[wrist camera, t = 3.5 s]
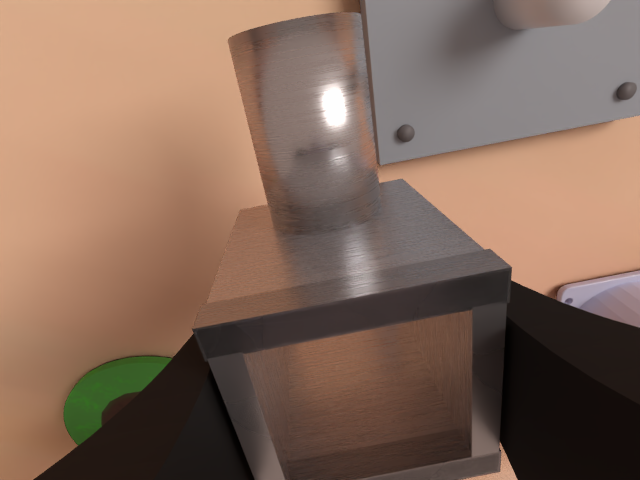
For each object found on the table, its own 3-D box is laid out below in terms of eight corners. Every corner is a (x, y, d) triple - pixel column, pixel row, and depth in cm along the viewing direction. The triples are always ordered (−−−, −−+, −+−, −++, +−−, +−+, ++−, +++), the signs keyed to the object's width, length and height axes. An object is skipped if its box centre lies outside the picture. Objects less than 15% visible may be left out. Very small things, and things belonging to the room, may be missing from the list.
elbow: (414, 313, 14) (500, 471, 8) (275, 340, 14) (267, 517, 8) (391, 17, 10) (530, -65, 4) (194, 55, 10) (70, 22, 4)
